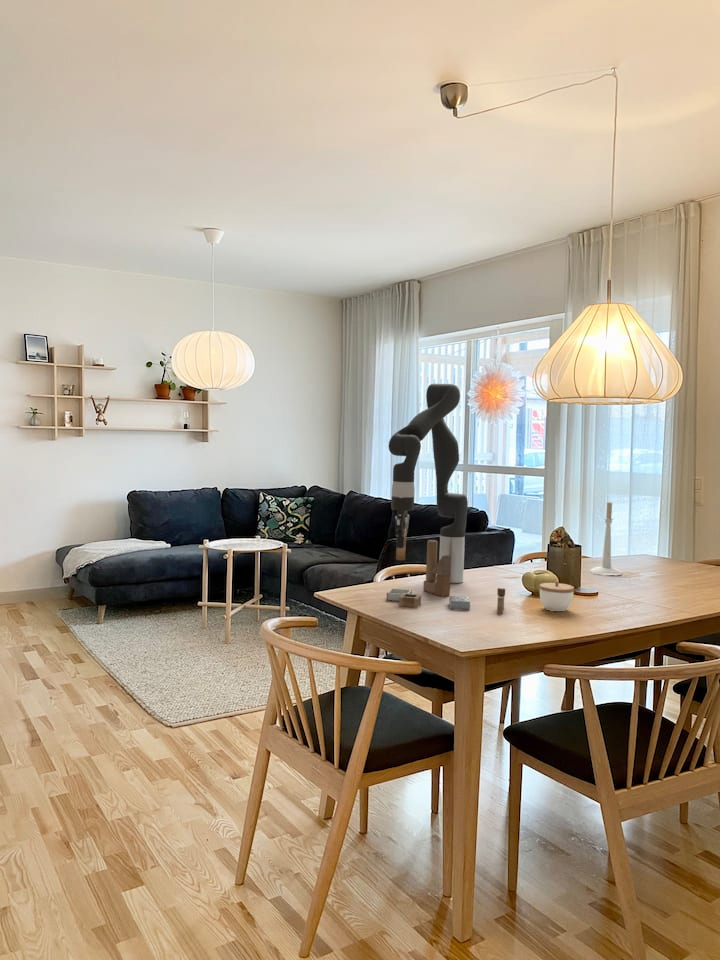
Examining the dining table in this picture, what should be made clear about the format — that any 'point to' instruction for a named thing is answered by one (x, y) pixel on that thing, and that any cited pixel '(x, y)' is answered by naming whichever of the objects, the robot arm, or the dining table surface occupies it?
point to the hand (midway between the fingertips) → (401, 546)
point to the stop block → (500, 600)
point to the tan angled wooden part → (437, 571)
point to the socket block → (410, 600)
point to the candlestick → (607, 546)
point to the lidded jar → (556, 596)
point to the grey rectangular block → (459, 602)
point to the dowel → (401, 549)
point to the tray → (396, 593)
